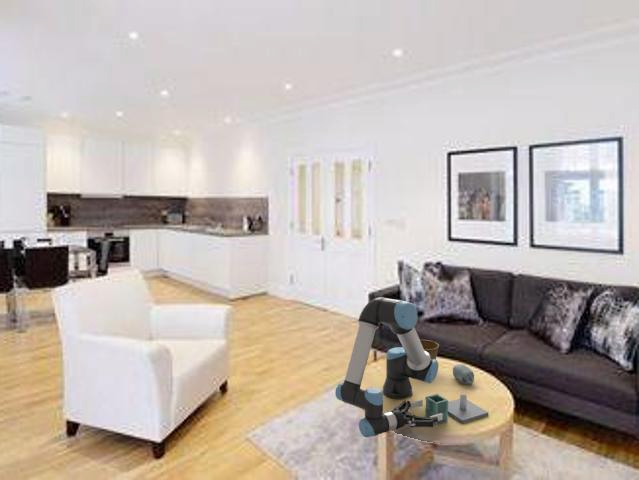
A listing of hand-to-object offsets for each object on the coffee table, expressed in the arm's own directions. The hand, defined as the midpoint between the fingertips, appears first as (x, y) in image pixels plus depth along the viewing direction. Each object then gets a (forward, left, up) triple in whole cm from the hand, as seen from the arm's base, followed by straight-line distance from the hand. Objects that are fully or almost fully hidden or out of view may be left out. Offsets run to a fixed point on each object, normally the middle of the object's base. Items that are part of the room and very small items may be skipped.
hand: (431, 409), depth 199 cm
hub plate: (0, +19, -6) cm, 20 cm away
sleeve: (0, +3, -6) cm, 7 cm away
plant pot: (-45, +33, -6) cm, 57 cm away
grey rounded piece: (-25, +43, -6) cm, 51 cm away
